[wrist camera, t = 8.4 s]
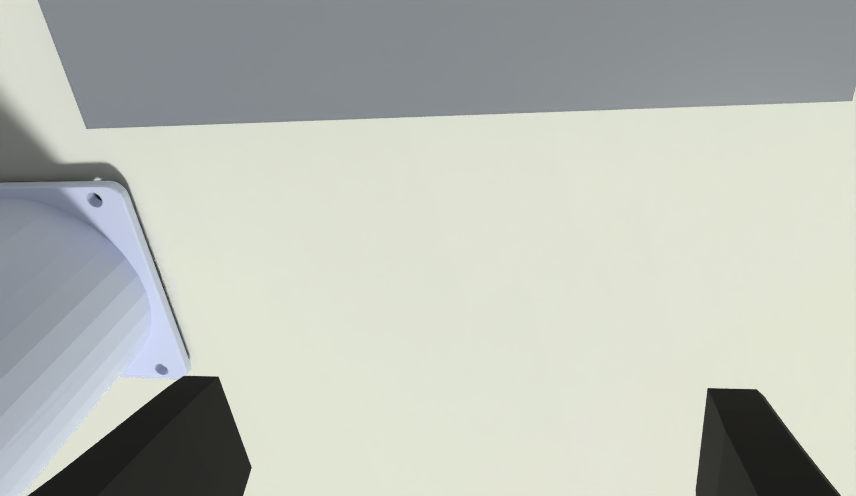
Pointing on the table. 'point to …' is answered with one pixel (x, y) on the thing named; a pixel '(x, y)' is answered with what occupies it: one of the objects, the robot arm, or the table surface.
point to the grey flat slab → (442, 57)
